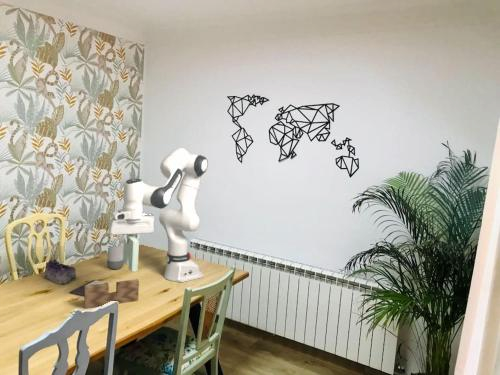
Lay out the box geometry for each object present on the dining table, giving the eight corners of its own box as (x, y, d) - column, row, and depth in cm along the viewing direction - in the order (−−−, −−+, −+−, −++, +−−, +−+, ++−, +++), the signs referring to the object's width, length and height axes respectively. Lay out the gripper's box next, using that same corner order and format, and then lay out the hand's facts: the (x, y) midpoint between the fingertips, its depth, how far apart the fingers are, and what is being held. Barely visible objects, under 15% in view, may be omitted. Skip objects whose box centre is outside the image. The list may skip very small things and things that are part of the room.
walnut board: (136, 298, 186) (137, 279, 185) (138, 300, 184) (138, 281, 183) (84, 306, 174) (84, 286, 172) (85, 309, 171) (85, 288, 170)
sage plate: (123, 260, 183) (124, 232, 182) (128, 260, 185) (129, 232, 183) (131, 271, 170) (133, 241, 168) (137, 271, 171) (139, 241, 170)
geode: (34, 278, 201) (36, 259, 201) (54, 275, 212) (56, 257, 212) (60, 286, 192) (62, 266, 192) (79, 282, 203) (81, 263, 203)
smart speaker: (120, 264, 231) (121, 242, 229) (125, 269, 224) (126, 246, 222) (104, 266, 225) (105, 244, 223) (109, 271, 218) (110, 248, 216)
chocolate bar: (68, 292, 186) (93, 279, 203) (68, 294, 186) (93, 281, 203) (83, 295, 184) (107, 282, 201) (83, 297, 184) (107, 284, 201)
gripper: (152, 211, 183) (150, 239, 184) (108, 213, 172) (107, 242, 173) (156, 214, 177) (154, 243, 179) (111, 215, 167) (110, 246, 168)
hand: (131, 242), depth 176 cm, fingers closed on sage plate, 2 cm apart
